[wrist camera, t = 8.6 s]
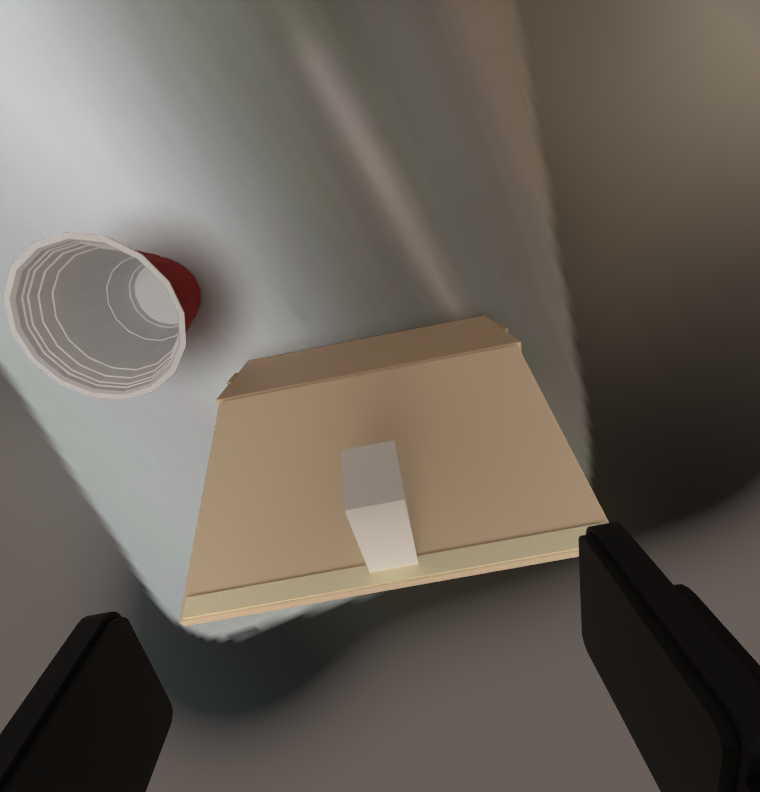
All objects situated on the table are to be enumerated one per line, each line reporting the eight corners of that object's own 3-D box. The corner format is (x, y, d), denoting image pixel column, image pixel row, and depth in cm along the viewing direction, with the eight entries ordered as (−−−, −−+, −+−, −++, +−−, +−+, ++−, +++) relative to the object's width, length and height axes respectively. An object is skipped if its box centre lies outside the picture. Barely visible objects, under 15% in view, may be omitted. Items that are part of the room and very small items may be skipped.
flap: (222, 407, 33) (180, 335, 28) (516, 351, 32) (523, 268, 28) (184, 626, 22) (107, 570, 18) (617, 549, 22) (655, 470, 17)
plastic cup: (156, 375, 42) (82, 430, 31) (77, 268, 39) (-39, 286, 28) (256, 321, 41) (217, 358, 30) (183, 204, 38) (108, 196, 26)
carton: (245, 360, 42) (212, 399, 33) (487, 314, 42) (524, 340, 32) (289, 506, 48) (272, 575, 39) (503, 467, 47) (538, 527, 38)
